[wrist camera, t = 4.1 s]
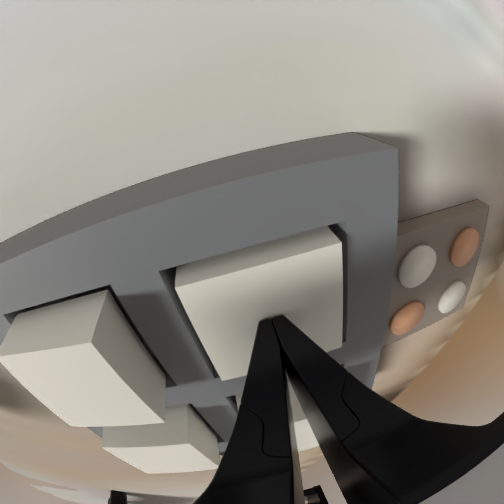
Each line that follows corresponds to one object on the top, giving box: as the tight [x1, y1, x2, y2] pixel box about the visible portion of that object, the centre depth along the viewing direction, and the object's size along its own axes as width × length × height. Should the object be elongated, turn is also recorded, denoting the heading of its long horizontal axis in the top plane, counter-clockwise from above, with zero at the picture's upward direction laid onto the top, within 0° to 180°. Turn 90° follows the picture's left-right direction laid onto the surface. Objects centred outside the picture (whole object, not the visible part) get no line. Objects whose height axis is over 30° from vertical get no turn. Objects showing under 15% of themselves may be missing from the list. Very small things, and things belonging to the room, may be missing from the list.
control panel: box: [0, 132, 399, 452], centre depth 13 cm, size 17×17×3 cm
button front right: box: [175, 226, 343, 381], centre depth 10 cm, size 5×5×2 cm
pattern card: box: [382, 199, 489, 347], centre depth 14 cm, size 8×8×1 cm
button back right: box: [235, 381, 319, 452], centre depth 13 cm, size 5×5×2 cm
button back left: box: [101, 404, 220, 473], centre depth 13 cm, size 5×5×2 cm
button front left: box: [0, 290, 166, 427], centre depth 9 cm, size 5×5×2 cm
